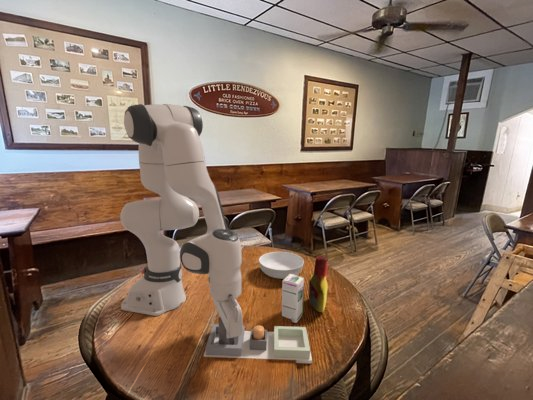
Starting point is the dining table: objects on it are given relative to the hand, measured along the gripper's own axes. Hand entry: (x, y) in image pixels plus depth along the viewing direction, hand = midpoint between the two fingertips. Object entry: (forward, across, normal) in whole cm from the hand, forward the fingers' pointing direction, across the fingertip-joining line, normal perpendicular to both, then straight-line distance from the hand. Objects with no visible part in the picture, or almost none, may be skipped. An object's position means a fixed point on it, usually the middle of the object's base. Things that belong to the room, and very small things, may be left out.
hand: (226, 330), depth 78 cm
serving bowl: (+6, +35, -36) cm, 50 cm away
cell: (+4, 0, 0) cm, 4 cm away
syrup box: (+6, +5, -25) cm, 26 cm away
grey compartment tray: (+5, -4, -9) cm, 11 cm away
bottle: (+6, +7, -37) cm, 38 cm away
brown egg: (+3, -4, -9) cm, 10 cm away
